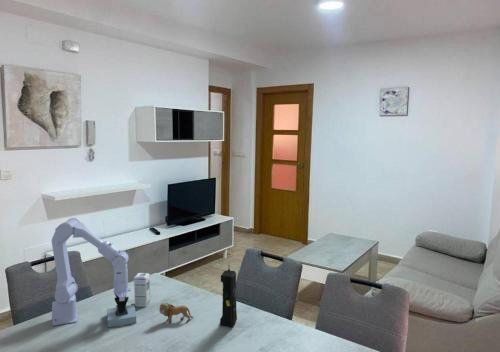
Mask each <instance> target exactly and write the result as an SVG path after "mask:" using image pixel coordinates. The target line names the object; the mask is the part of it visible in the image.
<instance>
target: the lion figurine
mask: <svg viewBox="0 0 500 352" xmlns="http://www.w3.org/2000/svg"><path fill="white" fill-rule="evenodd" d="M158 311H159V313H160V314H161V315H162V316H164V317H167V319H166V321H167V323H168V324H171V323H172V321H173V320H172V318H173V316H178V315H180V314H182V316H181V317H180V319H181V320H184V319H185V318H187V320H186V322H187V323H189V322H190V321H191V319H193V318H194V317H193V316H192V315H191V311H190V309H189V308H188V307H187V306H186V305H180V306H178V305H177V306H175V305H173V304H170V303H167V302H162V303H161V304H160V305H159V310H158Z"/></svg>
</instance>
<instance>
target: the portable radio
mask: <svg viewBox="0 0 500 352" xmlns="http://www.w3.org/2000/svg"><path fill="white" fill-rule="evenodd" d="M228 267H230V265H229V264H228ZM220 282H221V283H222V311H221V312H222V313H221V314H222V315H221V317H220V318H219V323H220V324H219V326H220V327H225V328H233V327H235V324H236V322H237V320H238V317H237V316H238V315H237V311H238V310H237V297H236V290H237V272H236V271H235V270H231V269H230V268H228V270H226V269H225V270H224V271H223V272H222V274H220Z"/></svg>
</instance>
